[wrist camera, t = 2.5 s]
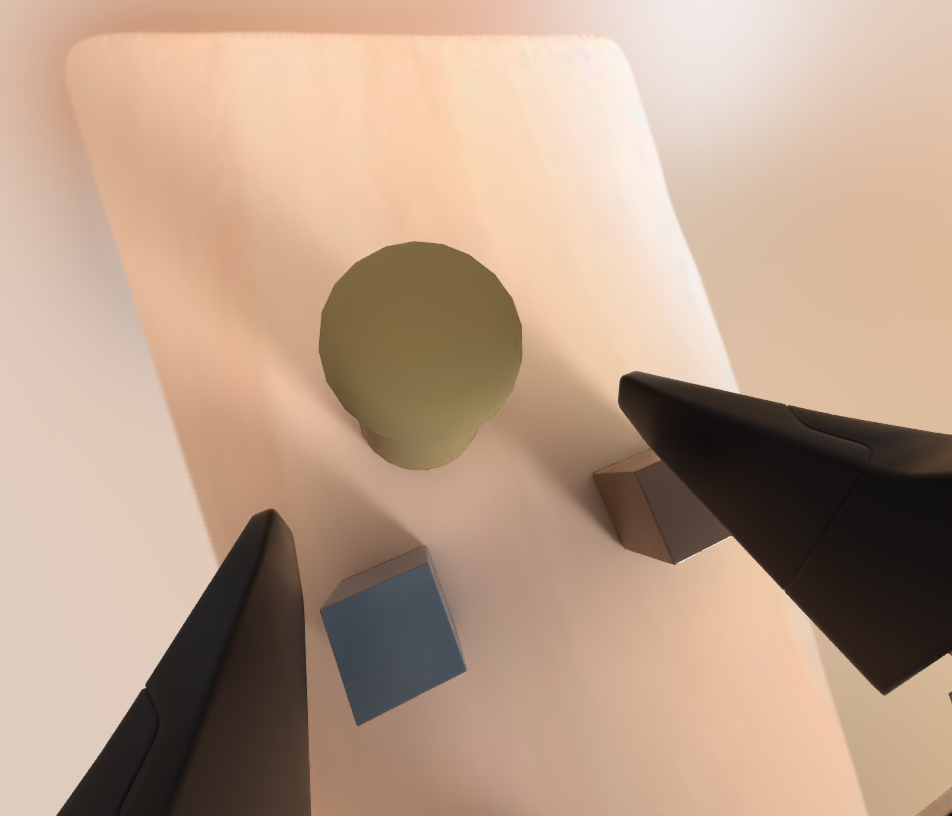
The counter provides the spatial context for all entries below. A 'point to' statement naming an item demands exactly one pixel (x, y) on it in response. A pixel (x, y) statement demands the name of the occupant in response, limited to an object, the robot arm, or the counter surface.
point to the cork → (420, 350)
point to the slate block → (392, 634)
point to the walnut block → (656, 510)
